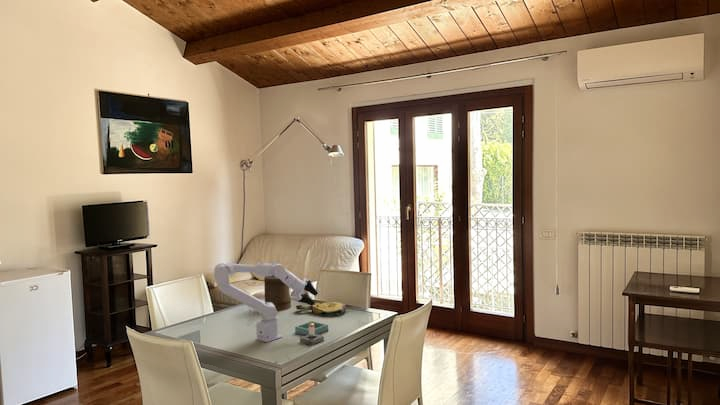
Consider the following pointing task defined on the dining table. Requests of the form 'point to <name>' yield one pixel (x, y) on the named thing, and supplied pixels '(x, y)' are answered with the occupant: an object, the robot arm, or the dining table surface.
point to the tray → (318, 328)
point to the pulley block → (325, 308)
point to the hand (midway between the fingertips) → (315, 299)
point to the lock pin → (311, 330)
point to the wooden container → (277, 293)
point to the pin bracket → (311, 341)
